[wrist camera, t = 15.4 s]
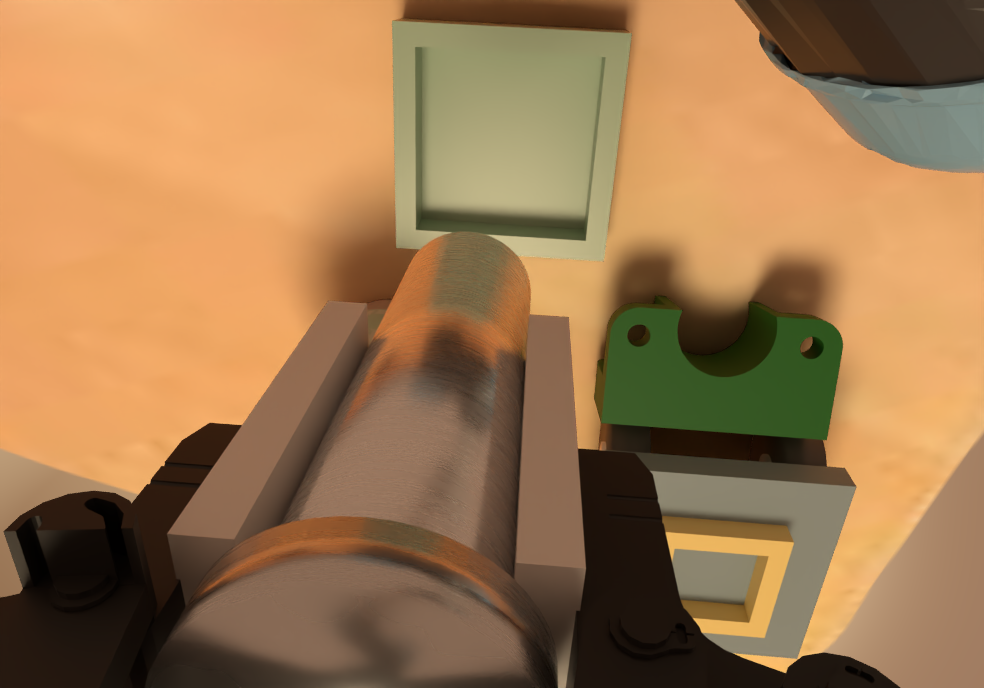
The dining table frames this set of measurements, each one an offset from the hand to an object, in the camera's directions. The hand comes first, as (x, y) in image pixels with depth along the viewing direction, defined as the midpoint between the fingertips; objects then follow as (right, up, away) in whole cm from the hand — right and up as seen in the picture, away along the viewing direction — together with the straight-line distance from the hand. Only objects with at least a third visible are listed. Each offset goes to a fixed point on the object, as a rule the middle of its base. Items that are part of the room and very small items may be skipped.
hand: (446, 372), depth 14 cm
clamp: (+12, +1, +26) cm, 29 cm away
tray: (+2, +11, +21) cm, 24 cm away
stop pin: (0, +2, +4) cm, 4 cm away
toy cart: (+13, -8, +30) cm, 33 cm away
